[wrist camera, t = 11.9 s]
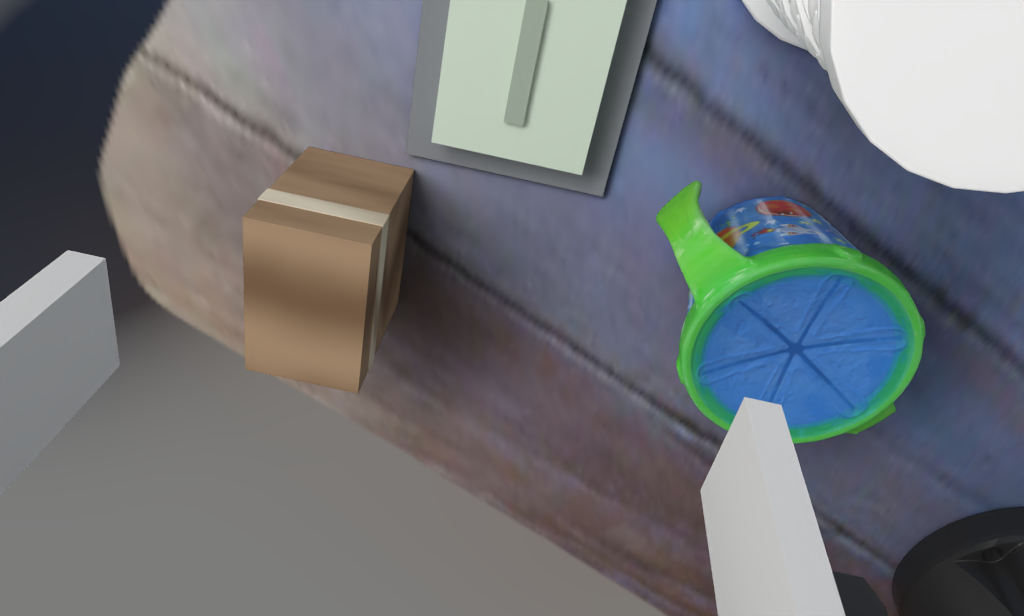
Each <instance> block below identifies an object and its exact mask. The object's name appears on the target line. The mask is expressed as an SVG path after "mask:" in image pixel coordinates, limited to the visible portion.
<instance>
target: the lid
mask: <svg viewBox="0 0 1024 616" xmlns="http://www.w3.org/2000/svg"><path fill="white" fill-rule="evenodd" d="M626 2H627V0H450V6H449V13H448V21H447V28H446V36H445V43H444V51H443V58H442V66H441V73H440V81H439V88H438V96H437V103H436V111H435V118H434V126H433V133H432V141H431V142H433V143H437V144H442V145H446V146H451V147H455V148H460V149H465V150H469V151H474V152H478V153H483V154H487V155H492V156H496V157H501V158H505V159H510V160H515V161H519V162H524V163H528V164H533V165H537V166H542V167H546V168H551V169H556V170H560V171H565V172H569V173H574V174H578V175H582V173H583V169H584V165H585V161H586V157H587V153H588V149H589V145H590V142H591V138H592V134H593V130H594V126H595V122H596V118H597V114H598V111H599V107H600V103H601V99H602V95H603V91H604V87H605V83H606V80H607V76H608V72H609V68H610V64H611V60H612V56H613V52H614V49H615V45H616V41H617V37H618V33H619V29H620V25H621V21H622V18H623V14H624V10H625V6H626Z"/></svg>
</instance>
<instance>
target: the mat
mask: <svg viewBox="0 0 1024 616" xmlns="http://www.w3.org/2000/svg"><path fill="white" fill-rule="evenodd" d="M656 3H657V0H627V2H626V6H625V10H624V14H623V18H622V21H621V25H620V29H619V33H618V37H617V41H616V45H615V49H614V52H613V56H612V60H611V64H610V68H609V72H608V76H607V80H606V83H605V87H604V91H603V95H602V99H601V103H600V107H599V111H598V114H597V118H596V122H595V126H594V130H593V134H592V138H591V142H590V145H589V149H588V153H587V157H586V161H585V165H584V169H583V173H582V175H578V174H574V173H569V172H565V171H560V170H556V169H551V168H546V167H542V166H537V165H533V164H528V163H524V162H519V161H515V160H510V159H505V158H501V157H496V156H492V155H487V154H483V153H478V152H474V151H469V150H465V149H460V148H455V147H451V146H446V145H442V144H437V143H433V142H431V141H432V133H433V126H434V118H435V111H436V103H437V96H438V88H439V81H440V73H441V66H442V58H443V51H444V43H445V36H446V28H447V21H448V13H449V6H450V0H423V6H422V14H421V23H420V32H419V41H418V50H417V59H416V68H415V76H414V85H413V94H412V103H411V112H410V121H409V130H408V138H407V147H406V154H410V155H414V156H419V157H424V158H428V159H433V160H437V161H442V162H446V163H451V164H456V165H460V166H465V167H469V168H474V169H479V170H483V171H488V172H492V173H497V174H501V175H506V176H511V177H515V178H520V179H524V180H529V181H534V182H538V183H543V184H547V185H552V186H556V187H561V188H566V189H570V190H575V191H579V192H584V193H588V194H593V195H598V196H602V197H603V193H604V189H605V186H606V182H607V179H608V175H609V171H610V168H611V164H612V161H613V157H614V154H615V150H616V146H617V143H618V139H619V136H620V132H621V128H622V125H623V121H624V118H625V114H626V110H627V107H628V103H629V100H630V96H631V92H632V89H633V85H634V82H635V78H636V74H637V71H638V67H639V64H640V60H641V56H642V53H643V49H644V46H645V42H646V39H647V35H648V31H649V28H650V24H651V21H652V17H653V13H654V10H655V6H656Z"/></svg>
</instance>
